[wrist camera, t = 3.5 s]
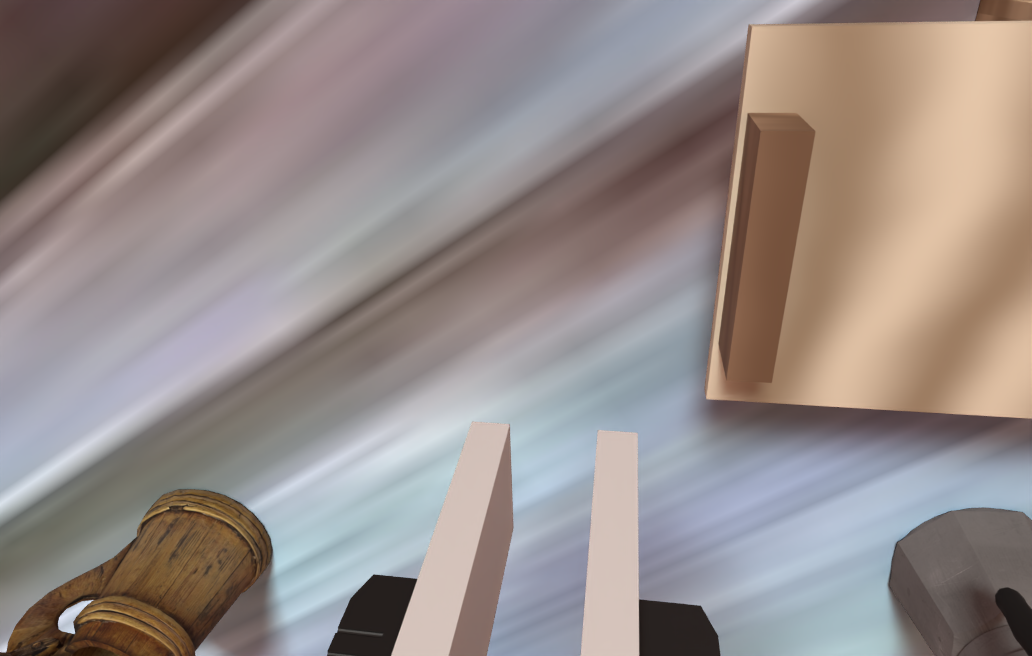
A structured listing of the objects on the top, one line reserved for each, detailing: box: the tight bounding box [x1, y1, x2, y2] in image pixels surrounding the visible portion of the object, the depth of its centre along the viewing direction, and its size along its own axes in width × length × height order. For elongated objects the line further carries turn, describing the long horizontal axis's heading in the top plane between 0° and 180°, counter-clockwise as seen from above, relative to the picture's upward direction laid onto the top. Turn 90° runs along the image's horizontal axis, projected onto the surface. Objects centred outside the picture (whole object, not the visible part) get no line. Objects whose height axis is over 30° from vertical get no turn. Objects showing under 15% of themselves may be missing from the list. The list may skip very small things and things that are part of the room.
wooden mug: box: [0, 489, 272, 656], centre depth 42 cm, size 9×14×18 cm, turn 72°
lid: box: [705, 21, 1032, 419], centre depth 24 cm, size 19×14×4 cm
